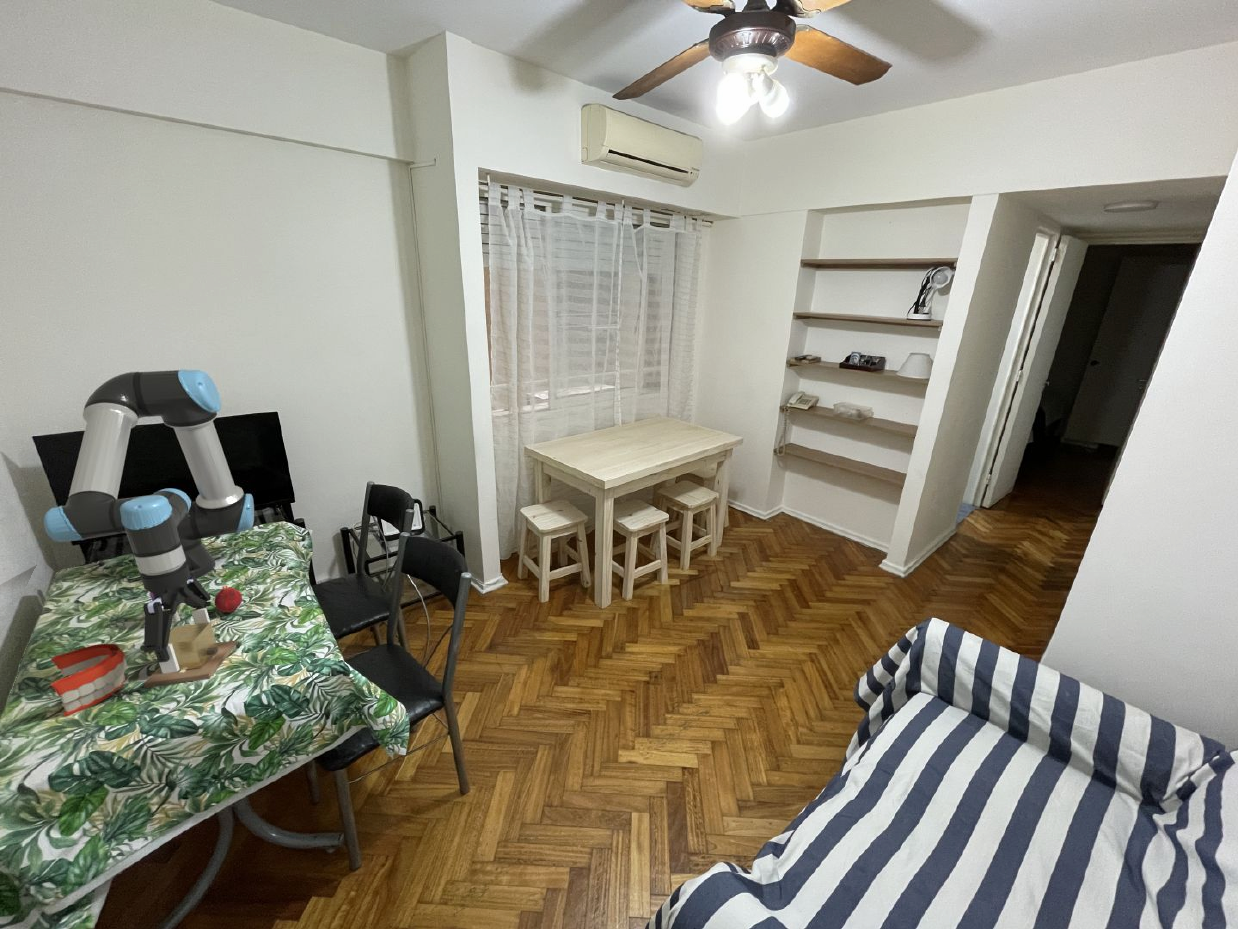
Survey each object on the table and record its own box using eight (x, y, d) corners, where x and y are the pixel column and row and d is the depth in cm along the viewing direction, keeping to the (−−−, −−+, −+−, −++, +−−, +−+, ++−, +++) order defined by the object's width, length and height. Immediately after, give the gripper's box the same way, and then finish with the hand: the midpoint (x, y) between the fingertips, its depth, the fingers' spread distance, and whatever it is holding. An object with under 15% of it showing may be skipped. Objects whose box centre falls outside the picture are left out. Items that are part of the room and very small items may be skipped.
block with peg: (225, 646, 117) (218, 621, 114) (209, 666, 110) (201, 639, 108) (174, 653, 114) (166, 627, 112) (155, 673, 108) (146, 646, 106)
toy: (135, 691, 105) (124, 659, 102) (64, 719, 97) (50, 686, 95) (130, 664, 113) (119, 634, 111) (63, 688, 106) (50, 657, 103)
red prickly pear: (249, 609, 133) (242, 583, 131) (224, 620, 129) (216, 594, 126) (238, 603, 136) (232, 578, 134) (214, 614, 132) (206, 588, 129)
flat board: (178, 652, 117) (171, 630, 115) (236, 644, 119) (230, 622, 118) (145, 688, 106) (136, 664, 104) (209, 678, 108) (202, 655, 106)
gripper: (177, 544, 116) (200, 621, 122) (99, 601, 93) (132, 693, 99) (214, 540, 118) (235, 617, 124) (146, 596, 94) (176, 687, 101)
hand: (189, 651), depth 111 cm, fingers open, 13 cm apart
